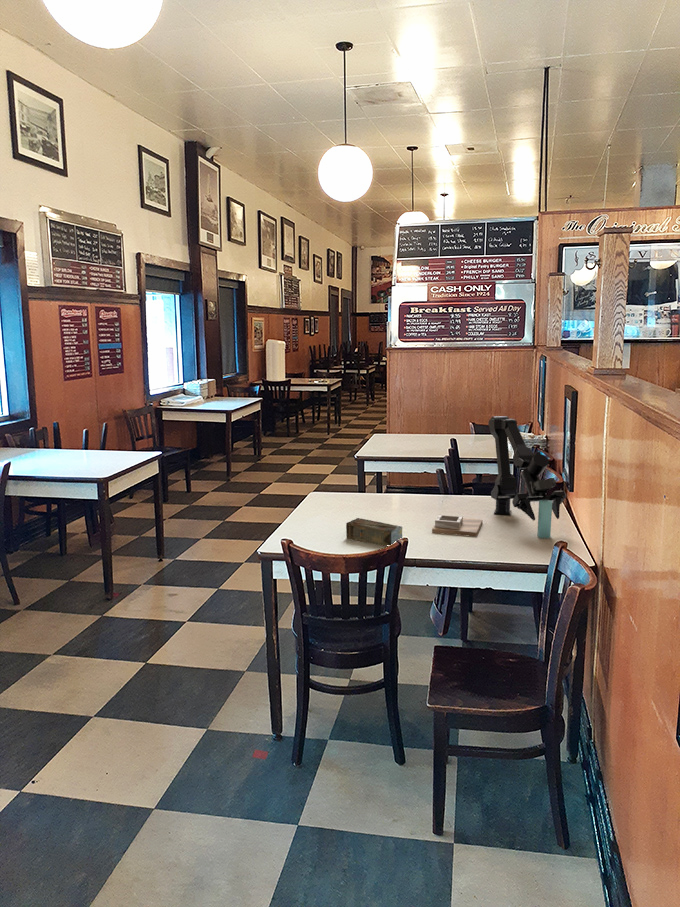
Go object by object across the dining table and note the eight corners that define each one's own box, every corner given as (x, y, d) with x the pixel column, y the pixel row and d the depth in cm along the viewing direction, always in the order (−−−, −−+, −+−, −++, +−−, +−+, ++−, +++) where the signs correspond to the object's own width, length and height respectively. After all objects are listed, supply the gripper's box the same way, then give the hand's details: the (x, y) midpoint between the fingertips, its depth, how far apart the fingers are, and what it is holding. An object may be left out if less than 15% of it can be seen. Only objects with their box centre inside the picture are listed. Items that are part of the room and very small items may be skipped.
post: (537, 534, 252) (539, 499, 250) (550, 535, 251) (552, 500, 249) (537, 537, 248) (538, 502, 246) (550, 539, 247) (552, 503, 245)
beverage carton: (391, 548, 238) (391, 529, 237) (344, 539, 248) (344, 521, 247) (403, 542, 244) (403, 524, 243) (357, 534, 255) (357, 516, 254)
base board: (440, 520, 272) (440, 510, 271) (482, 523, 267) (482, 513, 266) (432, 532, 255) (432, 522, 254) (476, 536, 250) (476, 525, 249)
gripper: (517, 471, 248) (530, 508, 239) (565, 468, 251) (579, 506, 243) (506, 488, 257) (519, 525, 248) (553, 485, 260) (567, 522, 252)
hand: (546, 519), depth 247 cm, fingers open, 9 cm apart
